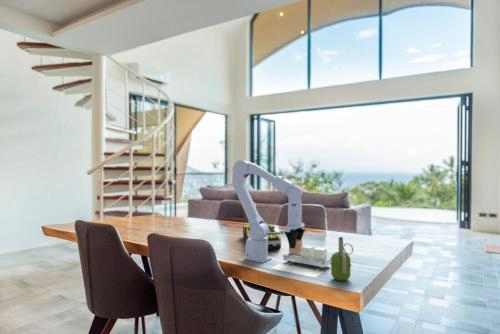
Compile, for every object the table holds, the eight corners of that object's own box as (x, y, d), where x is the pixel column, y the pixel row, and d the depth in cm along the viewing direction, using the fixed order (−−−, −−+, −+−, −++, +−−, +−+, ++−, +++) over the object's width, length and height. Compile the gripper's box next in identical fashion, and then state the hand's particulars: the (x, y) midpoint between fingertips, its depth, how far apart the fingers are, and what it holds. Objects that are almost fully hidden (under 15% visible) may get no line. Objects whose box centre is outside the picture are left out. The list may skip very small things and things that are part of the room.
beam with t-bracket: (283, 262, 135) (283, 254, 135) (298, 255, 146) (298, 248, 146) (324, 270, 125) (324, 262, 125) (336, 262, 136) (336, 254, 136)
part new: (289, 252, 135) (289, 240, 135) (293, 250, 139) (293, 238, 139) (297, 253, 133) (297, 241, 133) (301, 251, 136) (302, 239, 136)
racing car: (270, 234, 193) (270, 214, 192) (284, 254, 154) (284, 229, 154) (242, 234, 191) (242, 214, 190) (248, 255, 152) (248, 230, 152)
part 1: (300, 259, 132) (300, 247, 132) (305, 257, 135) (305, 245, 135) (309, 260, 130) (309, 248, 130) (314, 258, 133) (314, 246, 133)
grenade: (347, 276, 118) (347, 235, 118) (355, 284, 110) (355, 240, 110) (327, 276, 118) (327, 235, 118) (334, 284, 110) (334, 240, 110)
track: (269, 268, 127) (269, 268, 127) (291, 258, 142) (291, 258, 142) (314, 278, 116) (314, 277, 116) (333, 266, 131) (333, 266, 131)
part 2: (313, 261, 129) (313, 249, 129) (317, 259, 132) (317, 247, 132) (322, 263, 127) (322, 250, 127) (326, 261, 130) (326, 248, 130)
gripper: (295, 217, 128) (295, 251, 128) (311, 213, 140) (311, 244, 140) (279, 215, 132) (279, 249, 132) (296, 212, 144) (296, 242, 144)
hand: (294, 246), depth 136 cm, fingers closed on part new, 4 cm apart
